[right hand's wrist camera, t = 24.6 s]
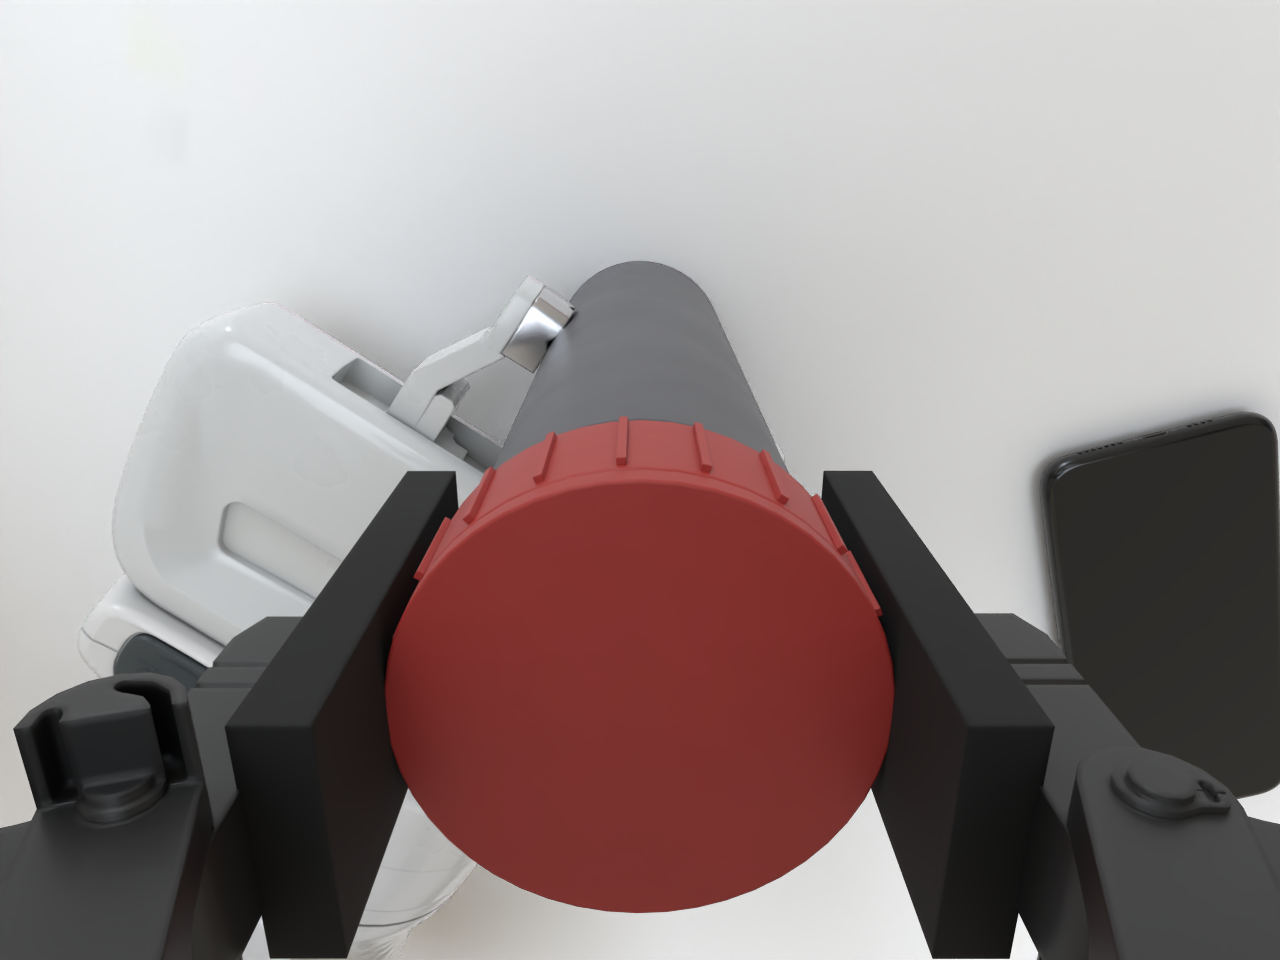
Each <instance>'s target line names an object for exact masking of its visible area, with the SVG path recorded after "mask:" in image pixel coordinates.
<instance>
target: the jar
mask: <svg viewBox="0 0 1280 960" xmlns="http://www.w3.org/2000/svg"><path fill="white" fill-rule="evenodd" d="M569 303H571V304H572V305H573V306H575V309H574V312H573V314H572V315H571V317H570V319H569V321H568V322H567V324H566V325H565V327H564V328H563V330H562V331H561V332H560V333H559V335H558V336H557V337H556V338H555V339H553V340H552V341H551V343H550V346H549V348H548V350H547V352H546V354H545V356H544V358H543V360H542V363H541V365H540V367H539V369H538V371H537V374H536V376H535V378H534V380H533V382H532V384H531V387H530V389H529V391H528V393H527V395H526V398H525V400H524V402H523V404H522V406H521V408H520V411H519V413H518V415H517V417H516V419H515V422H514V424H513V426H512V428H511V430H510V432H509V435H508V437H507V439H506V441H505V443H504V446H503V448H502V450H501V452H500V454H499V456H498V459H497V461H496V463H495V465H494V467H493V469H494V470H496V469H497V468H498V467H500V466H501V465H502V464H503V463H505V462H506V461H508V460H510V459H511V458H513V457H514V456H516V455H517V454H519V453H521V452H522V451H524V450H525V449H527V448H529V447H531V446H533V445H535V444H538V443H540V442H542V441H544V440H545V438H546V435H547V434H548V433H550V432H553V431H554V432H555V434H556V435H559V434H562V433H565V432H568V431H571V430H574V429H578V428H581V427H585V426H591V425H596V424H602V423H608V422H616V421H619V417H621V416H628V421H635V420H648V421H661V422H673V423H678V424H683V425H688V426H693V425H694V422H697V423H701V424H703V428H704V429H706V430H709V431H712V432H715V433H718V434H720V435H723V436H726V437H729V438H732V439H734V440H736V441H738V442H740V443H742V444H744V445H746V446H748V447H750V448H752V449H754V450H756V451H758V452H759V453H761V451H762V450H763V449H764V450H766V451H767V452H769V453H770V455H771V457H772V460H773V462H774V463H776V464H777V465H779V466H780V467H782V468H783V469H784V470H785V471H786V472H787V473H788V474H789V472H788V470H787V468H786V466H785V464H784V462H783V459H782V457H781V455H780V453H779V451H778V448H777V446H776V444H775V442H774V440H773V437H772V435H771V433H770V431H769V429H768V427H767V424H766V422H765V420H764V418H763V416H762V413H761V411H760V409H759V407H758V405H757V403H756V400H755V398H754V396H753V394H752V392H751V389H750V387H749V385H748V383H747V381H746V378H745V376H744V374H743V372H742V370H741V368H740V365H739V363H738V361H737V359H736V357H735V354H734V352H733V350H732V348H731V346H730V344H729V341H728V339H727V337H726V335H725V333H724V330H723V328H722V326H721V324H720V322H719V319H718V317H717V315H716V313H715V311H714V309H713V307H712V304H711V302H710V301H709V299H708V298H707V296H706V295H705V293H704V292H703V291H702V290H701V289H700V287H699V286H698V285H697V284H696V283H695V282H693V281H692V280H691V279H690V278H689V277H687V276H686V275H684V274H683V273H681V272H679V271H677V270H675V269H673V268H671V267H668V266H665V265H663V264H659V263H654V262H644V261H635V262H626V263H621V264H617V265H614V266H611V267H609V268H606V269H604V270H602V271H601V272H599V273H597V274H596V275H594V276H593V277H591V278H590V279H589V280H587V281H586V282H585V283H584V284H583V285H582V286H581V287H580V288H579V289H578V291H577V292H576V293H575V294H574V296H573V297H572V299H571V301H570V302H569Z"/></svg>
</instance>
